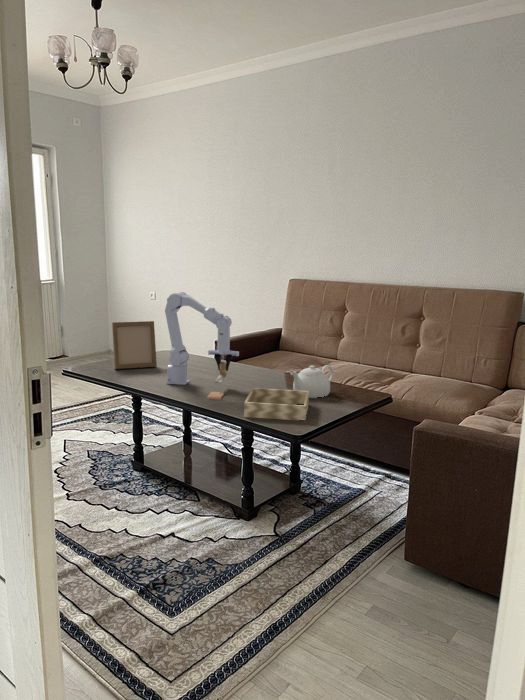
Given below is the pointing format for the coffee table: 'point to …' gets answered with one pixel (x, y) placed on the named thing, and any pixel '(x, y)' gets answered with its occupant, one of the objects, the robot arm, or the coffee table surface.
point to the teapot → (313, 381)
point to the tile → (215, 395)
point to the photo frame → (134, 344)
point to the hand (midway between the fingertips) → (223, 370)
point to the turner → (222, 373)
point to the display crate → (276, 410)
